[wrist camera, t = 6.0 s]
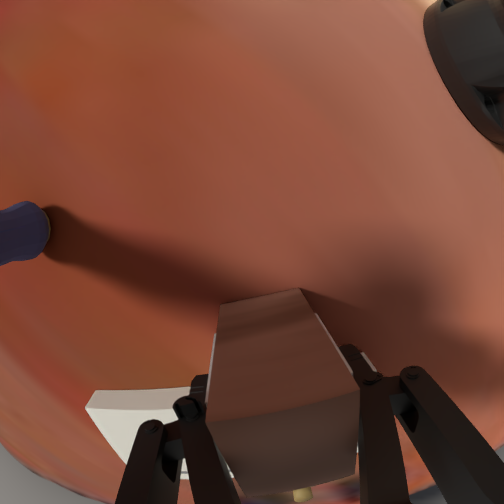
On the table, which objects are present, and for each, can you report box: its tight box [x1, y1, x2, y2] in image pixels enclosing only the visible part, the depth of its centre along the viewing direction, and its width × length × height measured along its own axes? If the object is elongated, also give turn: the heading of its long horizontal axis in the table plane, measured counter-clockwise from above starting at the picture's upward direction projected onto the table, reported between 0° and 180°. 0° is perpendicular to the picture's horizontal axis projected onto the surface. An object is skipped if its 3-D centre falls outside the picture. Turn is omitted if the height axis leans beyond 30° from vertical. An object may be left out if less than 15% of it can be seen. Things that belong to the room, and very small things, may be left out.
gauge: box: [205, 288, 360, 502], centre depth 14 cm, size 17×5×10 cm, turn 12°
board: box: [85, 352, 377, 479], centre depth 19 cm, size 10×22×3 cm, turn 101°
